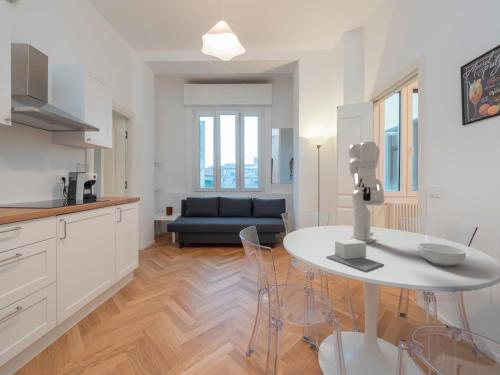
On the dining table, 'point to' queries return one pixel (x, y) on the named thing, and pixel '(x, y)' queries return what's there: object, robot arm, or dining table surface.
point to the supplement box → (350, 249)
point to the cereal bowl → (441, 254)
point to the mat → (357, 263)
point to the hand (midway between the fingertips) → (366, 200)
